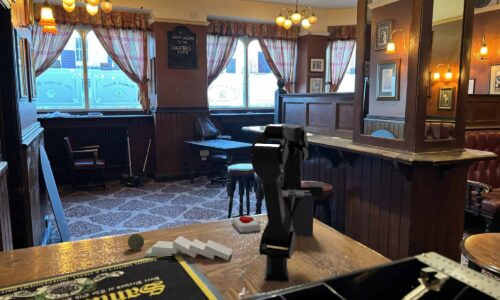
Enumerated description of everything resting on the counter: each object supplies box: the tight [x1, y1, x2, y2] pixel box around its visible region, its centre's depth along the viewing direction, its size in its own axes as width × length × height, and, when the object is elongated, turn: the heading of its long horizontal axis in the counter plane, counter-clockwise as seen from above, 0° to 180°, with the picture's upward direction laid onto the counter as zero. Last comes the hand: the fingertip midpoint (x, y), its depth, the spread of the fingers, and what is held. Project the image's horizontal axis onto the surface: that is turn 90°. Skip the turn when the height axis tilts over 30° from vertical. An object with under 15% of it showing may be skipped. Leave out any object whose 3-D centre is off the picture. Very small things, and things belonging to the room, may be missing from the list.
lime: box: [127, 233, 145, 251], centre depth 122 cm, size 4×5×5 cm
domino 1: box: [144, 246, 174, 257], centre depth 119 cm, size 5×2×8 cm
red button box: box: [231, 215, 262, 234], centre depth 145 cm, size 12×4×10 cm
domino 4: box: [189, 238, 216, 260], centre depth 117 cm, size 5×2×8 cm
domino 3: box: [172, 235, 200, 259], centre depth 119 cm, size 5×2×8 cm
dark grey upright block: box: [283, 193, 315, 237], centre depth 137 cm, size 11×4×15 cm, turn 84°
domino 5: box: [204, 239, 233, 261], centre depth 117 cm, size 5×2×8 cm
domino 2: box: [151, 240, 181, 255], centre depth 120 cm, size 5×2×8 cm
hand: (291, 216), depth 118 cm, fingers closed
